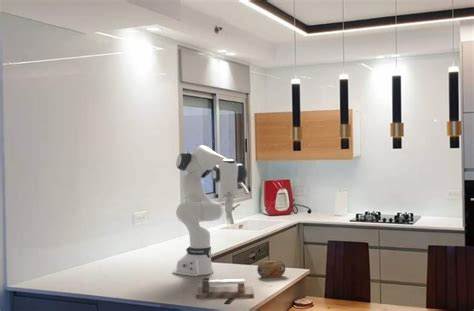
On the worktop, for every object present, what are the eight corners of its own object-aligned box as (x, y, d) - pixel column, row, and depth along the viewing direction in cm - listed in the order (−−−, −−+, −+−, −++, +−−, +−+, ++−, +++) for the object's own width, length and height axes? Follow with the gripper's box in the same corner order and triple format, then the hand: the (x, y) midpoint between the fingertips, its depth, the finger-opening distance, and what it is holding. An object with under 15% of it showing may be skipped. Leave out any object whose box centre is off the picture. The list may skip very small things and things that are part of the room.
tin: (258, 278, 280) (258, 262, 280) (256, 277, 283) (256, 261, 283) (285, 276, 284) (285, 260, 284) (283, 275, 287) (283, 259, 287)
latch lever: (204, 284, 249) (204, 282, 249) (204, 282, 253) (204, 280, 253) (244, 283, 249) (244, 281, 249) (244, 281, 253) (244, 278, 253)
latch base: (196, 298, 244) (196, 283, 244) (198, 290, 258) (198, 275, 258) (253, 297, 244) (253, 282, 244) (252, 289, 258) (252, 274, 258)
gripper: (235, 193, 261) (235, 221, 262) (235, 188, 282) (235, 215, 282) (222, 193, 261) (222, 221, 262) (223, 188, 282) (223, 215, 282)
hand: (229, 218), depth 272 cm, fingers closed
